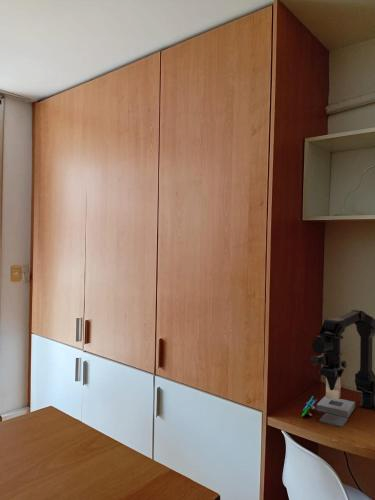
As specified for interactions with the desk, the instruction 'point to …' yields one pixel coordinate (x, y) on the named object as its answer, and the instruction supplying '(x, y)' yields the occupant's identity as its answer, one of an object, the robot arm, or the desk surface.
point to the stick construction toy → (310, 407)
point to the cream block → (335, 392)
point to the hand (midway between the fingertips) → (333, 388)
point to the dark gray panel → (333, 420)
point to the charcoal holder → (336, 406)
